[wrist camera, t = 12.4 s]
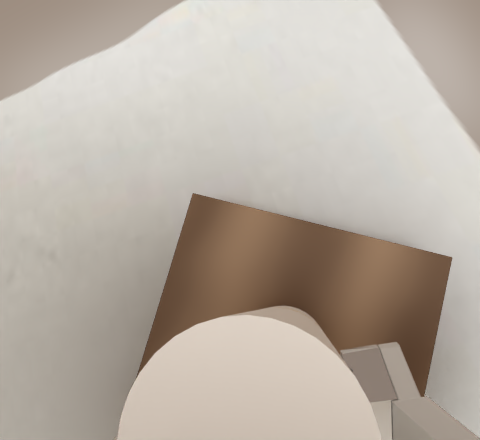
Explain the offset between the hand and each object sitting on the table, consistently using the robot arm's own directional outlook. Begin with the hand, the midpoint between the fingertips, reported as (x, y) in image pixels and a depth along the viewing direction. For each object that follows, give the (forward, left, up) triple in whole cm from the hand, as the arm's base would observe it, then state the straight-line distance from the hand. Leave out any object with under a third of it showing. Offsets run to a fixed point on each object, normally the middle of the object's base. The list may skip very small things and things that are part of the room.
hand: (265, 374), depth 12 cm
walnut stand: (0, -1, -15) cm, 15 cm away
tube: (0, 0, -10) cm, 10 cm away
